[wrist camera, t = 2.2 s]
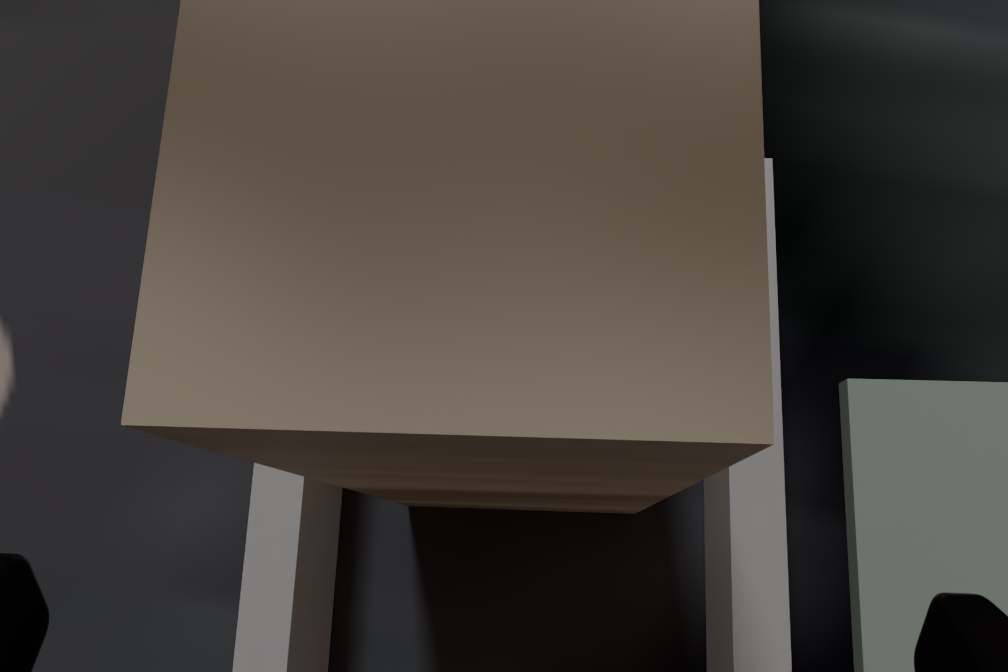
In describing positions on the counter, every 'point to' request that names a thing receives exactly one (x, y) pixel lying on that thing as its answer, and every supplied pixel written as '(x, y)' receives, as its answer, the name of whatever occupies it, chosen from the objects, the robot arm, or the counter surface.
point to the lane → (728, 553)
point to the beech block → (462, 248)
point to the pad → (921, 505)
